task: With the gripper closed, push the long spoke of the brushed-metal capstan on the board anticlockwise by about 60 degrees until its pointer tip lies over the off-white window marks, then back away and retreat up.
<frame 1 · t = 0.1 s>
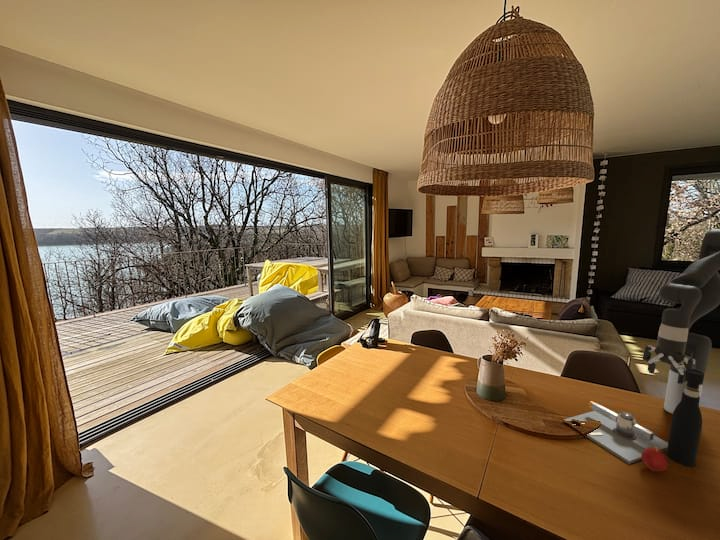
hand: (665, 378, 115), 17 cm above the table, tool pointing down, fingers open, 8 cm apart
onion: (652, 471, 93), on the table
capstan: (618, 419, 110), point 5 cm above the table, hinge at 0.0°
board: (614, 434, 109), on the table
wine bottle: (680, 459, 97), on the table
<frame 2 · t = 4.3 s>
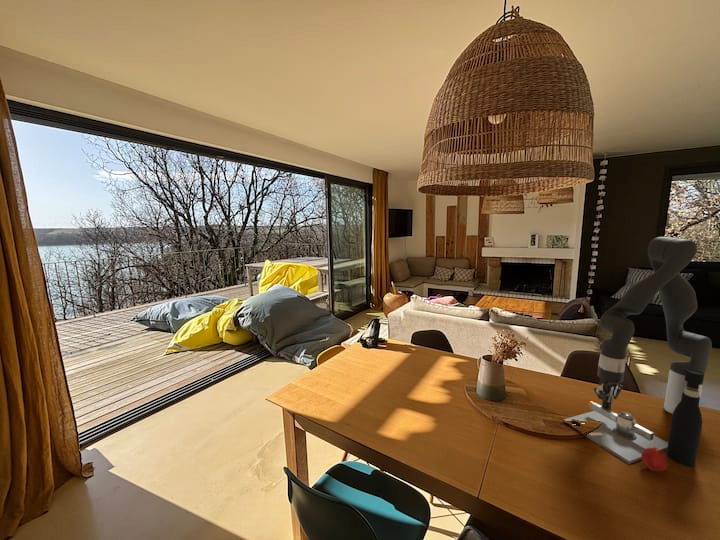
hand: (606, 409, 116), 5 cm above the table, tool pointing down, fingers closed
capstan: (618, 419, 110), point 5 cm above the table, hinge at 0.1°, touching gripper
everything else where it was.
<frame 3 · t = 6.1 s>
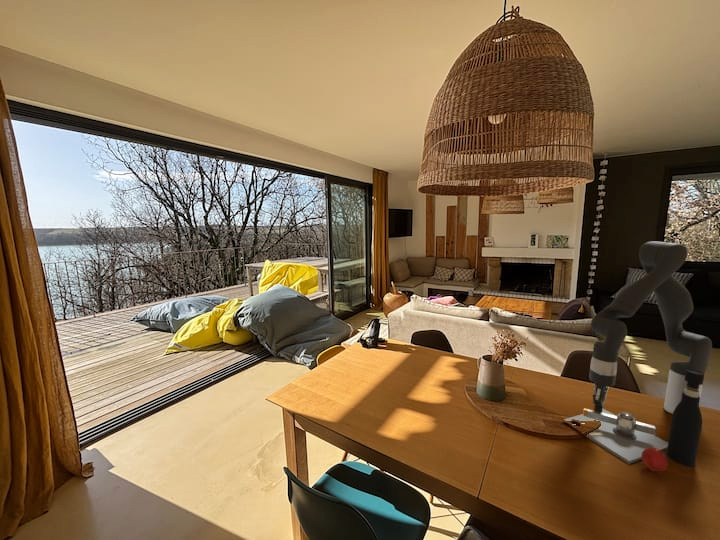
hand: (597, 413, 114), 5 cm above the table, tool pointing down, fingers closed
capstan: (617, 421, 109), point 5 cm above the table, hinge at 39.0°, touching gripper
everything else where it was.
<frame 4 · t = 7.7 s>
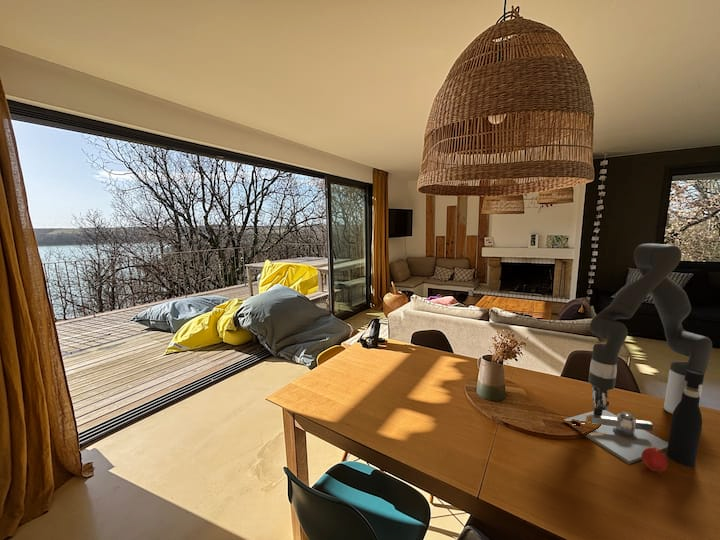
hand: (597, 416, 112), 5 cm above the table, tool pointing down, fingers closed
capstan: (618, 422, 108), point 5 cm above the table, hinge at 58.5°
everything else where it was.
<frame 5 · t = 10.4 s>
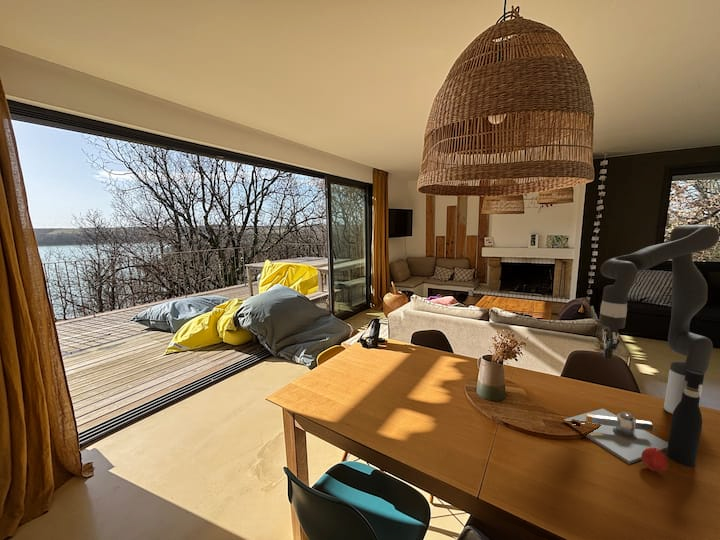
hand: (607, 357, 115), 25 cm above the table, tool pointing down, fingers closed
nothing on the table moved.
at the end: capstan at +58° (first picture: +0°); capstan touching nothing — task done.
